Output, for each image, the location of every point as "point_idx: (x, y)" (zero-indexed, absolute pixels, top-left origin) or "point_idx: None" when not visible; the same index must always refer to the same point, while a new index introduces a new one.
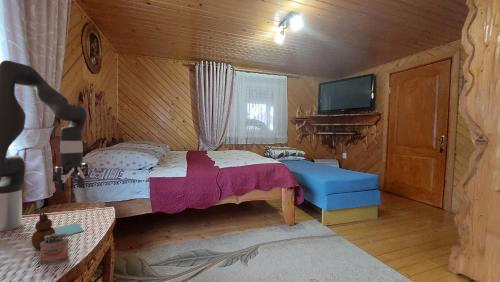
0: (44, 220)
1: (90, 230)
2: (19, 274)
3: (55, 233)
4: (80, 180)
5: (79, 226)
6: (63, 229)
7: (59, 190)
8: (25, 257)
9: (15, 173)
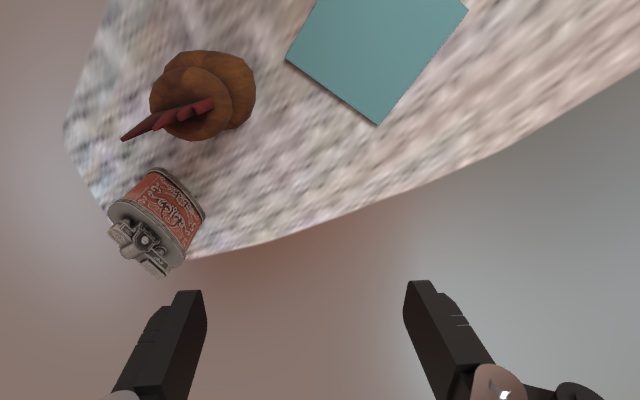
0: (179, 122)
1: (389, 142)
2: (89, 165)
3: (333, 17)
4: (439, 376)
5: (419, 69)
6: (380, 15)
7: (159, 319)
8: (149, 86)
9: None
